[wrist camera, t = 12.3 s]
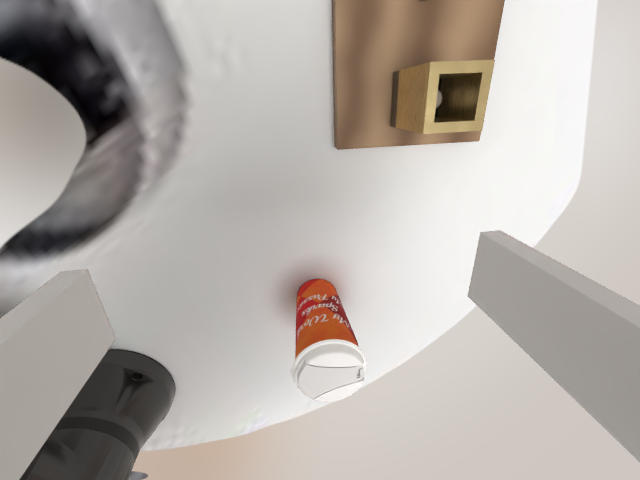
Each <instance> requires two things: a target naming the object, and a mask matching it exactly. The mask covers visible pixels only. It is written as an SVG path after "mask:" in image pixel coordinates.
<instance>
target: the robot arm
mask: <svg viewBox="0 0 640 480" xmlns="http://www.w3.org/2000/svg"><path fill="white" fill-rule="evenodd" d="M468 297H469V298H470V299H471V300H472V301H473V302H474V303H475V304H476V305H477V306H478V307H480V308H481V309H482V310H483V311H484V312H485V313H486V314H487V315H488V316H489V317H490V318H491V319H492V320H493V321H494V322H495V323H496V324H497V325H498V326H499V327H500V328H501V329H502V330H503V331H504V332H505V333H506V334H507V335H509V336H510V337H511V338H512V339H513V340H514V341H515V342H516V343H517V344H518V345H519V346H520V347H521V348H522V349H523V350H524V351H525V352H526V353H527V354H529V356H530V357H531V358H532V359H533V360H534V361H535V362H536V363H538V364H539V365H540V366H541V367H542V368H543V369H544V370H545V371H546V372H547V373H548V374H549V375H550V376H551V377H552V378H553V379H554V380H555V381H556V382H557V383H558V384H559V385H560V386H561V387H562V388H563V389H564V390H565V391H567V392H568V393H569V394H570V395H571V396H572V397H573V398H574V399H575V400H576V401H577V402H578V403H579V404H580V405H581V406H582V407H583V408H584V409H585V410H586V411H587V412H588V413H589V414H590V415H591V416H592V417H593V418H594V419H596V420H597V421H598V422H599V423H600V424H601V425H602V426H603V427H604V428H605V429H606V430H607V431H608V432H609V433H610V434H611V435H612V436H613V437H614V438H615V439H616V440H617V441H618V442H619V443H620V444H621V445H622V446H624V447H625V448H626V449H627V450H628V451H629V452H630V453H631V454H632V455H633V456H634V457H635V458H636V459H637V460H638V461H639V462H640V306H639V305H638V304H636V303H633V302H632V301H630V300H628V299H626V298H624V297H623V296H621V295H619V294H617V293H615V292H613V291H612V290H609V289H608V288H606V287H604V286H602V285H600V284H599V283H597V282H595V281H593V280H591V279H589V278H587V277H586V276H584V275H581V274H580V273H578V272H576V271H574V270H573V269H571V268H569V267H567V266H565V265H563V264H561V263H559V262H558V261H556V260H554V259H552V258H550V257H548V256H546V255H545V254H543V253H541V252H539V251H537V250H535V249H534V248H532V247H530V246H528V245H526V244H524V243H522V242H521V241H519V240H517V239H515V238H513V237H511V236H509V235H508V234H506V233H504V232H502V231H489V232H481V233H480V237H479V242H478V247H477V252H476V257H475V262H474V267H473V272H472V277H471V282H470V287H469V292H468ZM115 339H116V337H115V335H114V333H113V330H112V328H111V325H110V323H109V320H108V318H107V315H106V313H105V311H104V308H103V306H102V303H101V301H100V298H99V296H98V293H97V291H96V289H95V286H94V284H93V281H92V279H91V276H90V274H89V271H88V269H86V270H75V271H65V272H60V273H59V274H57V275H56V276H55V277H53V278H52V279H51V280H49V281H48V282H47V283H46V284H44V285H43V286H42V287H40V288H39V289H38V290H36V291H35V292H34V293H33V294H31V295H30V296H29V297H27V298H26V299H25V300H24V301H22V302H21V303H20V304H18V305H17V306H16V307H14V308H13V309H12V310H11V311H9V312H8V313H7V314H5V315H4V316H3V317H1V318H0V480H128V478H129V475H130V473H131V470H132V468H133V465H134V463H135V460H136V458H137V456H138V453H139V451H140V449H141V448H142V446H143V445H144V444H145V442H146V441H147V440H148V438H149V437H150V436H151V435H152V433H153V432H154V430H155V429H156V428H157V426H158V425H159V424H160V422H161V421H162V420H163V419H164V418H165V416H166V415H167V413H168V411H169V409H170V406H171V404H172V401H173V398H174V395H175V385H174V381H173V379H172V377H171V376H170V374H169V373H168V371H167V370H166V369H165V368H164V367H162V366H161V365H160V364H158V363H157V362H155V361H154V360H152V359H150V358H148V357H146V356H143V355H140V354H137V353H133V352H128V351H120V350H108V349H109V348H110V346H111V345H112V343H113V342H114V340H115Z"/></svg>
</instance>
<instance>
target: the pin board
mask: <svg viewBox="0 0 640 480" xmlns="http://www.w3.org/2000/svg"><path fill="white" fill-rule="evenodd" d="M504 1H505V0H332V28H333V83H334V138H335V148H337V149H354V148H371V147H388V146H405V145H421V144H438V143H455V142H472V141H479V140H480V134H481V131H468V132H450V133H432V134H421V133H417V132H412V131H408V130H403V129H399V128H395V127H390V125H391V107H392V90H393V72H395V71H399V70H402V69H406V68H410V67H413V66H417V65H421V64H424V63H428V62H441V61H471V60H494V56H495V51H496V45H497V40H498V34H499V28H500V23H501V17H502V12H503V6H504ZM441 102H442V94H441V92H440V91H439V90H438V92H437V101H436V108H437V107H438V106H439V105H440V104H441Z"/></svg>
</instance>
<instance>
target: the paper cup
mask: <svg viewBox="0 0 640 480" xmlns="http://www.w3.org/2000/svg"><path fill="white" fill-rule="evenodd" d="M366 366H367V361H366V356H365V354H364V352H363V351H362V350H361V349H360V348H359V346H358V343H357V340H356V338H355V335H354V333H353V330H352V328H351V326H350V323H349V321H348V319H347V316H346V314H345V311H344V309H343V306H342V304H341V301H340V299H339V296H338V294H337V292H336V289H335V288H334V286H333V285H332V284H331V283H330V282H328V281H326V280H323V279H313V280H310V281H307V282H306V283H304V284H303V285H302V286H301V287H300V289H299V291H298V294H297V307H296V358H295V361H294V364H293V367H292V369H291V376H292V379H293V381H294V382H295V384H296V385H297V387H298V388H299V389H301V391H302V392H303V393H304V394H305V395H306V396H308V397H309V398H311V399H313V400H315V401H320V402H332V401H338V400H341V399H344V398H346V397H348V396H350V395H351V394H353V393H354V392H356V391H357V390H358V389H359V388H360V386H361V385H362V383H363V381H364V373H365V370H366Z"/></svg>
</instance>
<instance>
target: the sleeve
mask: <svg viewBox="0 0 640 480" xmlns="http://www.w3.org/2000/svg"><path fill="white" fill-rule="evenodd" d="M494 61H495V60H471V61H441V62H428V63H424V64H421V65H417V66H413V67H410V68H406V69H402V70H399V71H395V72H393V90H392V107H391V125H390V127H395V128H399V129H403V130H408V131H412V132H417V133H421V134H432V133H450V132H468V131H482V127H483V122H484V116H485V111H486V105H487V100H488V94H489V89H490V83H491V78H492V72H493V67H494ZM438 90H439V91H440V92H441V94H442V102H441V104H440V105H439V106H438V107H437V108H436V101H437V92H438Z"/></svg>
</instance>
